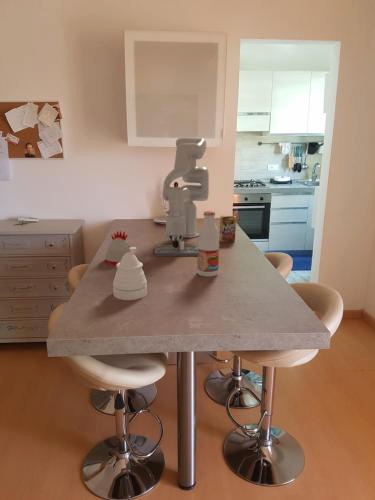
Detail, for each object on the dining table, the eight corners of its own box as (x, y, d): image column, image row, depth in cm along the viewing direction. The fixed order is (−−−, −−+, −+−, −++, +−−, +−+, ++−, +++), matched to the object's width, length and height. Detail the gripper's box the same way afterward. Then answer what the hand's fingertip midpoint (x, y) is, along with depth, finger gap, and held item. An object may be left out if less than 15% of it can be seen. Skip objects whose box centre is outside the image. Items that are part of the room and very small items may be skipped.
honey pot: (131, 285, 159) (130, 242, 154) (153, 293, 151) (153, 248, 146) (106, 294, 149) (104, 249, 144) (129, 302, 141) (127, 255, 136)
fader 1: (178, 245, 213) (178, 236, 211) (181, 245, 213) (182, 236, 212) (178, 246, 210) (178, 237, 209) (182, 246, 210) (182, 237, 209)
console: (154, 247, 214) (154, 243, 213) (197, 247, 216) (197, 243, 215) (154, 256, 199) (154, 251, 198) (200, 255, 200) (201, 251, 200)
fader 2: (179, 248, 206) (180, 239, 205) (183, 248, 206) (183, 239, 205) (180, 250, 204) (180, 241, 202) (183, 250, 204) (184, 241, 202)
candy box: (220, 242, 228) (221, 216, 224) (219, 240, 232) (219, 215, 228) (235, 242, 229) (236, 216, 225) (233, 240, 233) (234, 215, 229)
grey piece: (128, 266, 183) (127, 235, 179) (101, 263, 185) (99, 233, 181) (137, 257, 196) (137, 228, 192) (112, 255, 198) (111, 227, 194)
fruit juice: (203, 269, 180) (204, 209, 172) (221, 272, 175) (224, 211, 168) (193, 274, 172) (194, 212, 164) (212, 278, 167) (214, 214, 160)
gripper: (161, 214, 195) (161, 249, 200) (190, 214, 196) (190, 249, 201) (161, 212, 203) (161, 245, 208) (189, 212, 204) (189, 245, 209)
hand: (175, 247), depth 204 cm, fingers closed
